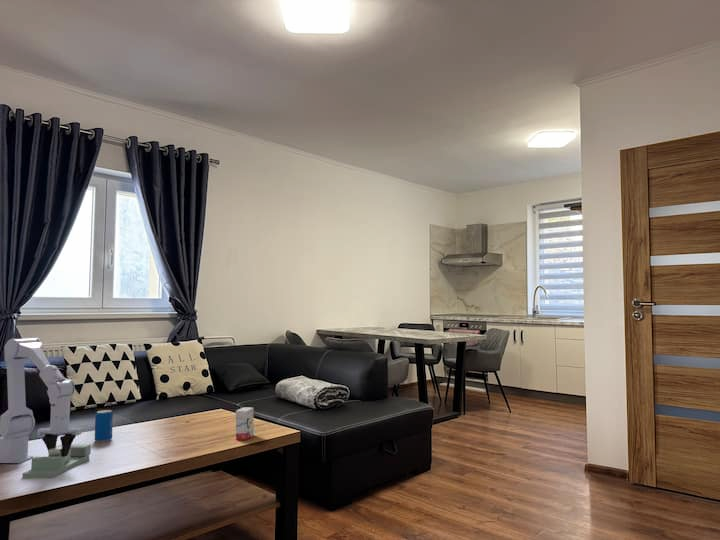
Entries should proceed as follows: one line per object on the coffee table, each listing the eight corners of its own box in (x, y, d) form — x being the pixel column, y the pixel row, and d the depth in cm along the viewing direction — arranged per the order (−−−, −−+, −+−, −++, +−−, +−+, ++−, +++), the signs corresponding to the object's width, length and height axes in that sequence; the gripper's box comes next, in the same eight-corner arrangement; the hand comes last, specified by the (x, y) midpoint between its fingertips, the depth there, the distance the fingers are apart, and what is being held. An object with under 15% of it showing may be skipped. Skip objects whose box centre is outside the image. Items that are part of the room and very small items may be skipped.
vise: (22, 478, 158) (23, 462, 158) (62, 459, 178) (62, 445, 178) (52, 478, 158) (53, 462, 158) (88, 459, 177) (89, 445, 178)
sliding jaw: (56, 457, 175) (57, 447, 175) (63, 453, 179) (64, 444, 179) (84, 457, 175) (84, 447, 175) (90, 453, 178) (90, 444, 179)
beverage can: (107, 442, 199) (108, 412, 200) (91, 442, 199) (92, 413, 200) (115, 438, 206) (115, 409, 207) (99, 438, 206) (100, 409, 207)
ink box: (246, 440, 201) (246, 411, 202) (234, 440, 202) (235, 411, 203) (254, 435, 209) (254, 407, 210) (243, 434, 210) (243, 406, 211)
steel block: (48, 464, 166) (48, 449, 166) (59, 459, 172) (60, 444, 172) (59, 464, 166) (60, 449, 166) (70, 459, 172) (71, 444, 172)
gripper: (31, 418, 166) (29, 459, 165) (73, 418, 165) (71, 459, 164) (45, 414, 173) (44, 453, 172) (85, 414, 172) (84, 453, 171)
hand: (58, 456), depth 168 cm, fingers closed on steel block, 4 cm apart
